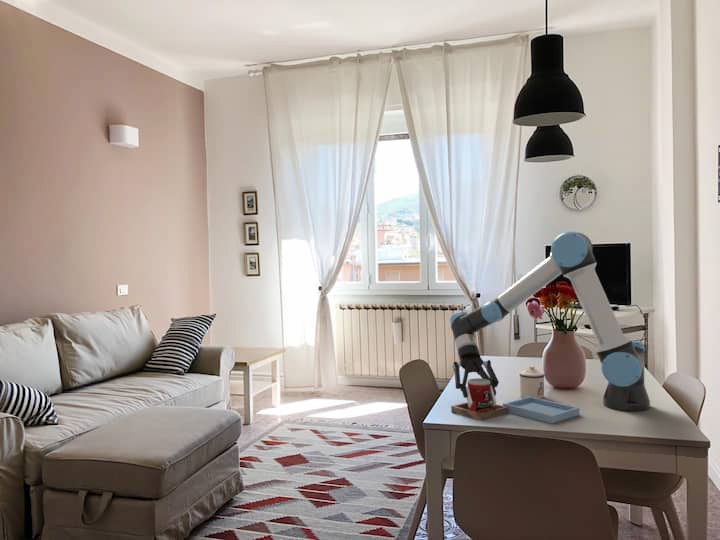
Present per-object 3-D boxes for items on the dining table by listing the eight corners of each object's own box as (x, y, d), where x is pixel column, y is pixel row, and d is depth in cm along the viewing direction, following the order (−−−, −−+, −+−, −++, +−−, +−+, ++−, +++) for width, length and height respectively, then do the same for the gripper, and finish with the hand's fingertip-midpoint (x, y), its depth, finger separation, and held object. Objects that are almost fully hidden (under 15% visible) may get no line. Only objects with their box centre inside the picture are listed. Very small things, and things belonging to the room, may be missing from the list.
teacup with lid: (543, 400, 217) (543, 369, 217) (518, 398, 221) (517, 367, 221) (546, 393, 228) (546, 363, 228) (522, 391, 232) (522, 362, 232)
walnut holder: (508, 412, 203) (507, 407, 203) (481, 420, 194) (481, 414, 194) (477, 405, 213) (477, 399, 213) (451, 411, 205) (451, 406, 205)
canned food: (478, 416, 199) (477, 384, 198) (463, 411, 206) (463, 380, 205) (495, 413, 202) (495, 381, 202) (480, 408, 209) (480, 377, 209)
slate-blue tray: (579, 415, 198) (579, 407, 198) (552, 423, 189) (552, 416, 189) (529, 403, 214) (529, 396, 214) (502, 410, 205) (502, 403, 205)
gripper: (492, 354, 220) (508, 408, 204) (438, 356, 217) (451, 411, 202) (497, 342, 214) (514, 397, 199) (442, 344, 212) (455, 400, 197)
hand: (482, 404), depth 200 cm, fingers closed on canned food, 8 cm apart
